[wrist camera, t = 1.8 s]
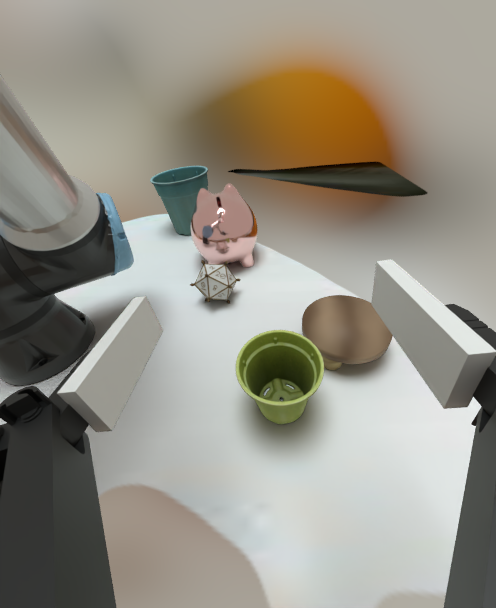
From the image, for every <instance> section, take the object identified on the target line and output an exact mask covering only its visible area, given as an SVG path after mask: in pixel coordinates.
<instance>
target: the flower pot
mask: <svg viewBox="0 0 496 608" xmlns="http://www.w3.org/2000/svg"><path fill="white" fill-rule="evenodd" d="M207 171H208V168H207V167H204V166H188V167H181V168H176V169H172V170H168V171H165V172H162V173H159V174H157V175H155V176H153V177H152V178H151V180H150V181H151V183H152V184H154V186H155V188H156V190H157V192H158V195H159V196H160V197H161V199H162V201H163V203H164V205H165V208H166V210H167V212H168V214H169V216H170V219H171V221H172V223H173V225H174V228H175V230H176V232H177V233H178V234H180V235H181V234H184V235H191V230H190V223H191V217H192V214H193V211H194V208H195V204H196V200H197V196H198V193H199V191H200V189H201V188H204V189H206V190H207V191H208V187H207V186H208V179H207Z"/></svg>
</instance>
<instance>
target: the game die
mask: <svg viewBox="0 0 496 608" xmlns="http://www.w3.org/2000/svg"><path fill="white" fill-rule="evenodd" d="M202 264H203V267H202V269H201V271H200V273H199V275H198V277H197V280H196V282H195V284H190V285H191V286H194V285H195V286H196V287H197V288H198V289H199V290H200V292H201V293H202V294H203V295H204V296H205V297H206V299H205V301H208V302H210V299H215V300H227V302H228V303H230V301H229V300H228V298H229V296H230V294H231V292H232V290H233V287H234V285H235V283H236V281H240V279H236V278H235V277H234V276H233V274H232V273H231V271H230V270H229V269H228V267H227V266H226V265H227V264H228V263H227V261H226V262H225V264H205V262H204V261H202Z"/></svg>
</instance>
